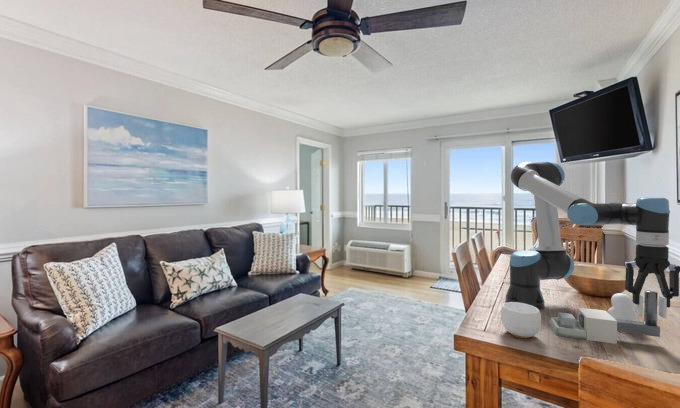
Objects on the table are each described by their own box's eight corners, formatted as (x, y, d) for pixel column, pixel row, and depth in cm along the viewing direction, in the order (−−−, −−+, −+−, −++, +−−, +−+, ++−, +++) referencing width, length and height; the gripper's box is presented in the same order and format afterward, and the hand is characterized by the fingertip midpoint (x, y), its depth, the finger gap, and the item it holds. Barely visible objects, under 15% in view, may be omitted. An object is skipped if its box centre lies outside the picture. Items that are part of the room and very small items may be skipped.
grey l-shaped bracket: (581, 326, 107) (582, 286, 107) (578, 323, 110) (579, 284, 110) (659, 337, 99) (660, 293, 99) (654, 332, 102) (655, 291, 102)
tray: (556, 335, 107) (556, 327, 107) (550, 324, 117) (550, 317, 117) (585, 339, 104) (586, 331, 104) (576, 327, 113) (576, 320, 113)
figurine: (623, 322, 118) (623, 291, 118) (643, 330, 110) (643, 297, 110) (605, 322, 118) (605, 291, 118) (624, 331, 110) (624, 298, 110)
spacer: (575, 333, 107) (561, 331, 109) (570, 327, 112) (557, 325, 114) (575, 318, 107) (561, 317, 109) (571, 313, 112) (557, 312, 113)
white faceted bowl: (498, 325, 116) (498, 299, 116) (536, 330, 112) (536, 303, 112) (502, 339, 105) (503, 311, 105) (545, 345, 100) (545, 316, 100)
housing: (586, 339, 104) (586, 317, 104) (577, 327, 113) (577, 307, 113) (616, 344, 101) (617, 321, 101) (604, 331, 110) (605, 310, 110)
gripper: (621, 245, 101) (620, 315, 101) (697, 248, 93) (696, 324, 94) (611, 241, 108) (611, 307, 108) (682, 244, 100) (681, 315, 101)
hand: (650, 315), depth 101 cm, fingers open, 5 cm apart
